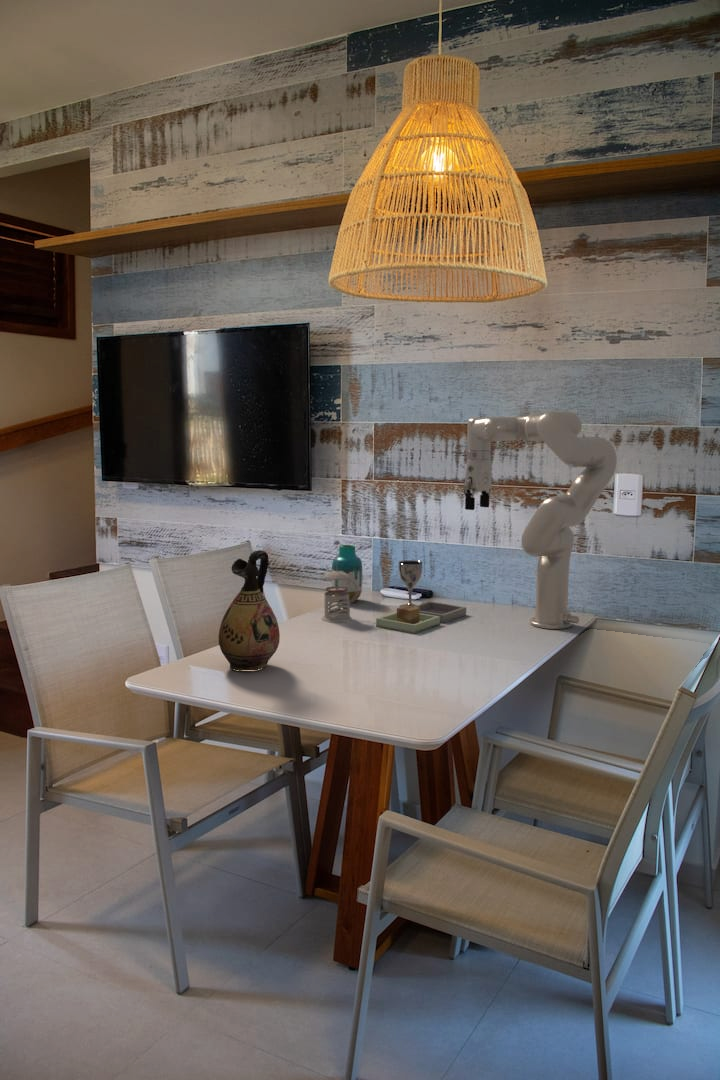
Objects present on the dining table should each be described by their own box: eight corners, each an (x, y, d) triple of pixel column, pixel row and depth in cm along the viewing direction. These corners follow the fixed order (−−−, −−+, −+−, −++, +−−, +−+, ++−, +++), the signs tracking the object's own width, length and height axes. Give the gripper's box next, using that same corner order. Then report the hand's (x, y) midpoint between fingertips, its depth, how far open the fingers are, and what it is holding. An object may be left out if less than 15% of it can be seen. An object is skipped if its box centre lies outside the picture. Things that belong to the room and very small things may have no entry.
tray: (439, 624, 267) (440, 616, 267) (414, 633, 256) (414, 625, 256) (402, 617, 275) (402, 610, 275) (376, 626, 264) (376, 618, 264)
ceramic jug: (255, 679, 212) (253, 558, 207) (206, 669, 220) (204, 552, 215) (295, 662, 226) (294, 549, 222) (248, 654, 234) (247, 544, 230)
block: (419, 623, 266) (419, 607, 265) (410, 626, 262) (410, 610, 261) (406, 621, 269) (406, 605, 268) (396, 624, 265) (396, 608, 264)
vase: (368, 602, 298) (368, 546, 295) (341, 605, 292) (341, 549, 290) (352, 596, 307) (353, 542, 304) (326, 599, 302) (326, 544, 299)
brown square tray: (466, 614, 280) (466, 607, 279) (443, 623, 269) (443, 615, 268) (429, 608, 288) (429, 601, 288) (405, 616, 277) (405, 609, 276)
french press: (317, 616, 277) (317, 538, 273) (352, 614, 280) (352, 537, 277) (325, 623, 268) (325, 543, 264) (361, 621, 271) (362, 541, 267)
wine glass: (426, 605, 293) (426, 561, 290) (414, 610, 286) (415, 565, 284) (405, 602, 297) (405, 559, 295) (393, 607, 290) (394, 563, 288)
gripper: (475, 457, 274) (474, 511, 276) (501, 455, 287) (499, 506, 290) (454, 456, 278) (453, 509, 281) (481, 454, 292) (480, 505, 294)
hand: (477, 508), depth 285 cm, fingers open, 9 cm apart
